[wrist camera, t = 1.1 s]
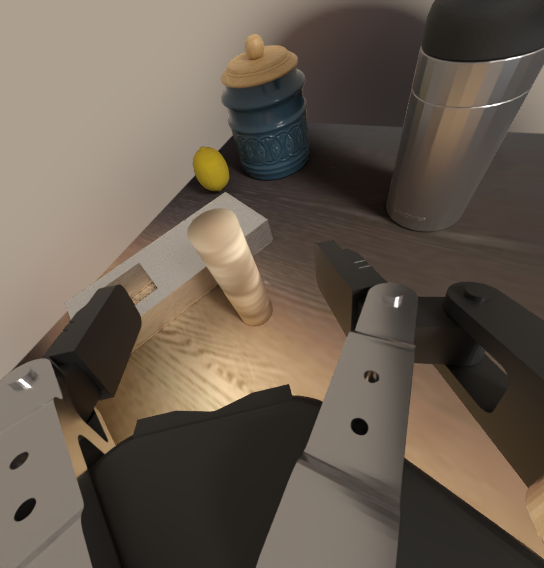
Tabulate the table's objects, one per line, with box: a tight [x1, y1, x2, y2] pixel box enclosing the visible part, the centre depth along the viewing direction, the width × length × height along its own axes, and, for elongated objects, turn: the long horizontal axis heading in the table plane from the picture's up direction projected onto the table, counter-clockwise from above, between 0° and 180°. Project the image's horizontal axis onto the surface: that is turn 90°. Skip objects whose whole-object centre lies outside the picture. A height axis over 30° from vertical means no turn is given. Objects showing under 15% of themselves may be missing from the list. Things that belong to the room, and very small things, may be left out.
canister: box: [221, 34, 310, 180], centre depth 41 cm, size 13×13×18 cm
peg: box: [187, 208, 273, 326], centre depth 25 cm, size 4×4×14 cm
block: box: [65, 192, 273, 354], centre depth 34 cm, size 26×10×4 cm, turn 132°
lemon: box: [193, 147, 229, 191], centre depth 43 cm, size 6×6×8 cm
